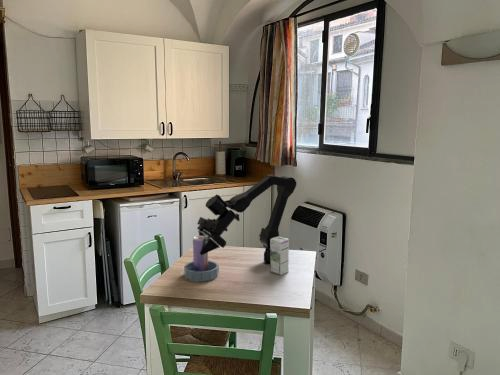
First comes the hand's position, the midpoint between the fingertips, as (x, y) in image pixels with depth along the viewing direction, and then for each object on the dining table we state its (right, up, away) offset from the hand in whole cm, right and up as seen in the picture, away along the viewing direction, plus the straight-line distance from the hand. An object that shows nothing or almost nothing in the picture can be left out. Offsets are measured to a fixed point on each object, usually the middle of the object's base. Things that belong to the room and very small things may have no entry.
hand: (197, 251), depth 164 cm
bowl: (+1, -10, +2) cm, 10 cm away
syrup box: (+33, -10, +6) cm, 35 cm away
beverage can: (+1, -9, +2) cm, 10 cm away
